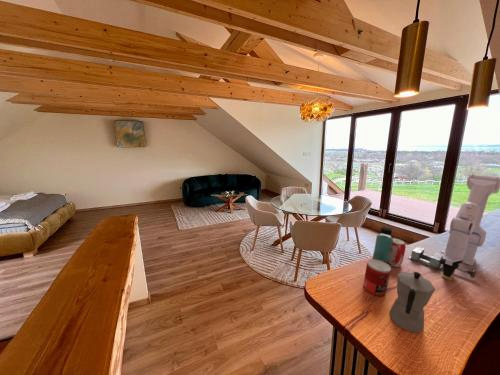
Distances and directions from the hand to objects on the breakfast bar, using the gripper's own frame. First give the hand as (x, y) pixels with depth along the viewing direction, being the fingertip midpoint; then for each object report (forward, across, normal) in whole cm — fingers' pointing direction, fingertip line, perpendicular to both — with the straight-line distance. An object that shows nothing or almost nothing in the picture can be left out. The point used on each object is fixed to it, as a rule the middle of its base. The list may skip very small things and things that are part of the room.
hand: (448, 273), depth 92 cm
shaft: (0, -6, 0) cm, 6 cm away
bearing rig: (+1, -7, -9) cm, 11 cm away
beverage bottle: (+2, +20, -20) cm, 28 cm away
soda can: (+2, +10, -18) cm, 20 cm away
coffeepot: (+2, +44, -2) cm, 44 cm away
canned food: (+2, +36, -15) cm, 39 cm away
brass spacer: (+1, 0, 0) cm, 1 cm away
